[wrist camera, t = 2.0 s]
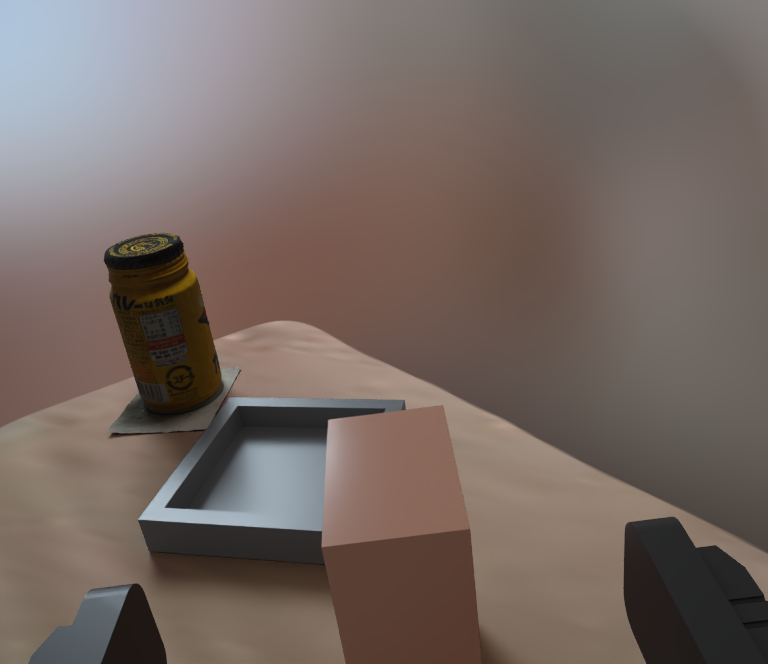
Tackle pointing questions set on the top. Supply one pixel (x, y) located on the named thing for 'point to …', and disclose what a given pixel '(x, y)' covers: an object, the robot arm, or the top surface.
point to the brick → (398, 541)
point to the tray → (253, 482)
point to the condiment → (164, 337)
